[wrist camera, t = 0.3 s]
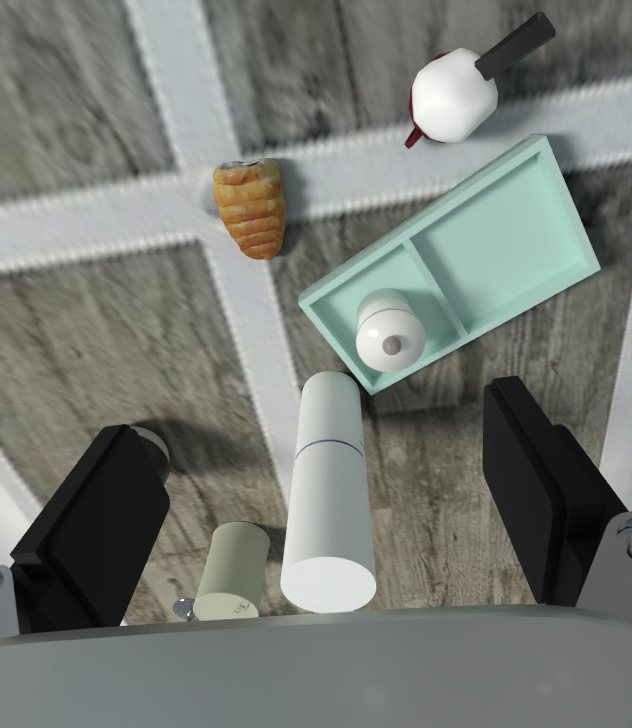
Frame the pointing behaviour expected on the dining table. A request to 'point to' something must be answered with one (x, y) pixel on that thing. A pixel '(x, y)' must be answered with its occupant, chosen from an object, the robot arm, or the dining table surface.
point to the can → (233, 573)
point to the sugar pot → (388, 331)
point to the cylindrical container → (329, 502)
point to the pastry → (252, 205)
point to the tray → (464, 260)
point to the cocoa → (468, 84)
